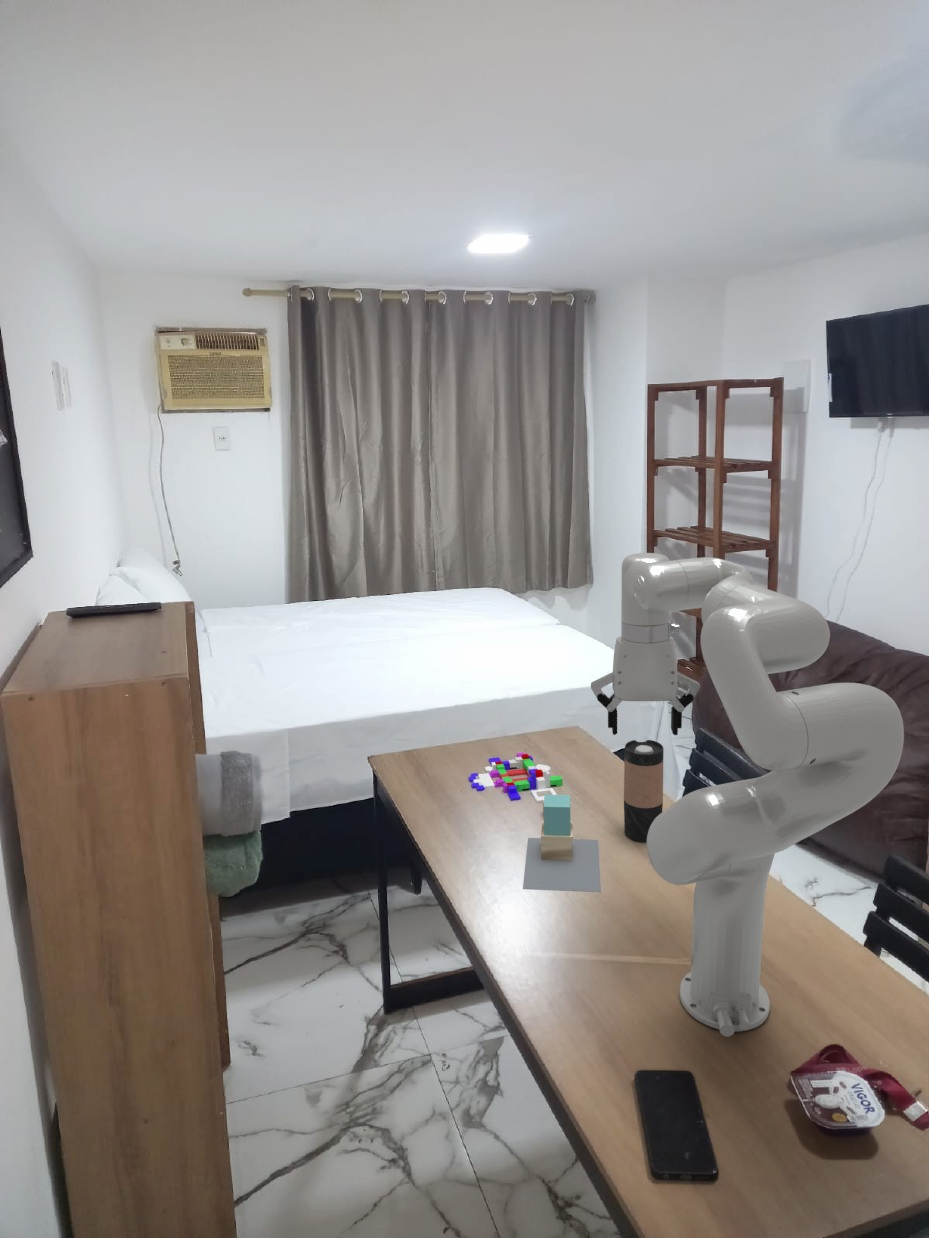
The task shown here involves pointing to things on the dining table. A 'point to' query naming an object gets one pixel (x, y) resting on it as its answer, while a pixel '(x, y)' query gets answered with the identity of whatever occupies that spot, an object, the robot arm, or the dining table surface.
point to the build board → (563, 868)
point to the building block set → (536, 779)
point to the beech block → (556, 846)
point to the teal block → (557, 815)
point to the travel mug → (642, 787)
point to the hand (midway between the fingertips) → (644, 731)
